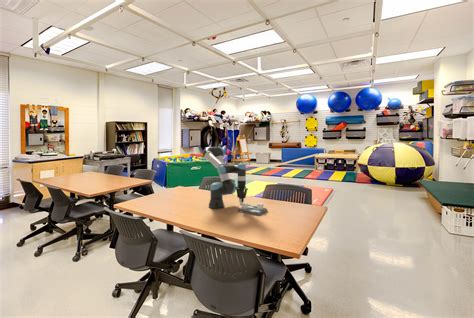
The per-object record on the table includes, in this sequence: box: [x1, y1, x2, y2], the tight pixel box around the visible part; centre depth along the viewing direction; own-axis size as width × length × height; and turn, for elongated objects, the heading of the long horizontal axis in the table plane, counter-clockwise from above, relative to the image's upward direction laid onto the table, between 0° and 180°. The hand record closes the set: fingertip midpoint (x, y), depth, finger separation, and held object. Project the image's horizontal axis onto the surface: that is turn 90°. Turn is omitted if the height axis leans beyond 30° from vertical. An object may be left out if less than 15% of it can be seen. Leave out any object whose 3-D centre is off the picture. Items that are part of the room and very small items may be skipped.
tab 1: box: [241, 202, 249, 209], centre depth 226 cm, size 4×4×5 cm
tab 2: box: [256, 202, 264, 210], centre depth 225 cm, size 4×4×5 cm
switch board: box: [237, 204, 268, 217], centre depth 226 cm, size 22×16×3 cm
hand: (241, 205), depth 228 cm, fingers closed
